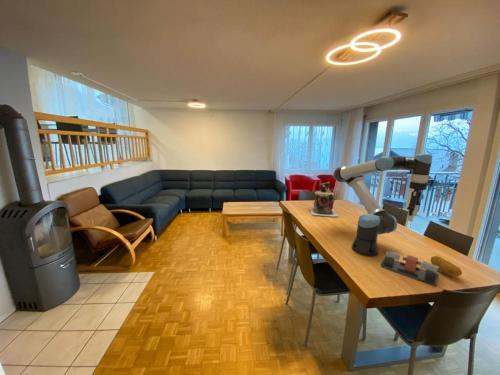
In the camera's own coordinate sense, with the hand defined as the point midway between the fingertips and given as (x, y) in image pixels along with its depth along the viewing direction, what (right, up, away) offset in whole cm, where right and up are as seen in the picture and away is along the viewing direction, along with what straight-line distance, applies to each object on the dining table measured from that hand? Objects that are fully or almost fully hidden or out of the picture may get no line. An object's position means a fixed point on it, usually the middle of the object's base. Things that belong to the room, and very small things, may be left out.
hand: (411, 218), depth 119 cm
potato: (+12, -29, -7) cm, 32 cm away
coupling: (-7, -27, -7) cm, 29 cm away
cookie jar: (-20, -8, +89) cm, 92 cm away
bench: (-7, -28, -6) cm, 30 cm away
